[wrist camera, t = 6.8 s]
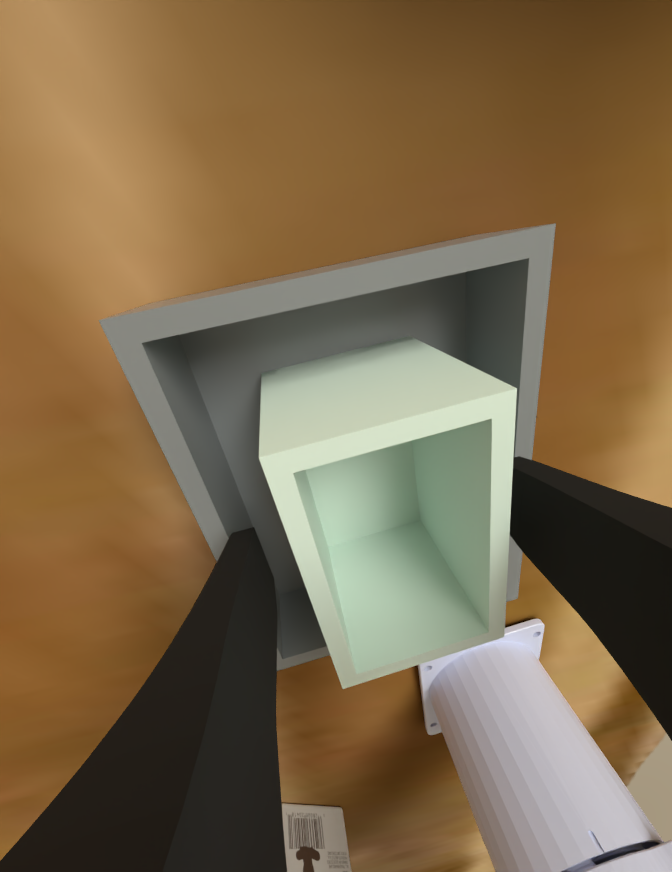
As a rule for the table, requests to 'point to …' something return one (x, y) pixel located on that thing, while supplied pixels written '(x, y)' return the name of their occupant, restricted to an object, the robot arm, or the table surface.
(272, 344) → the large crate
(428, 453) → the small crate
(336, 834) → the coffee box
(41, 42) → the table surface
